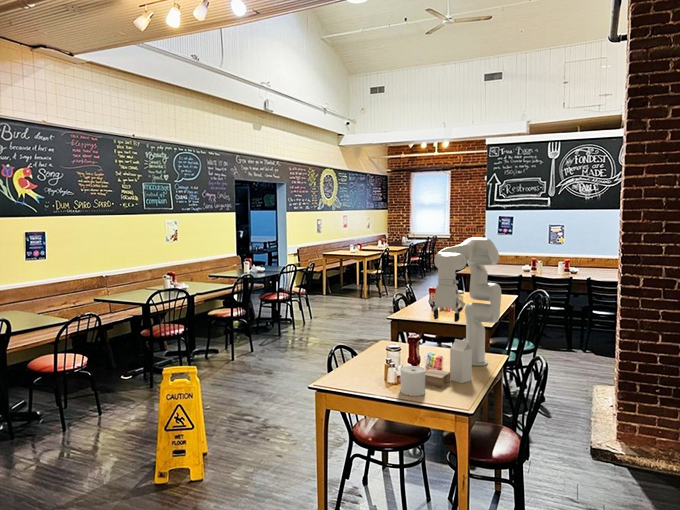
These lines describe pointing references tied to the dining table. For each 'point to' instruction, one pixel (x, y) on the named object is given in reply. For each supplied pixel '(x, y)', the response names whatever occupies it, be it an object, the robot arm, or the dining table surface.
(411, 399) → the dining table surface
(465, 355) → the milk carton
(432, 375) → the walnut block
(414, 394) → the toilet tissue
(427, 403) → the dining table surface
